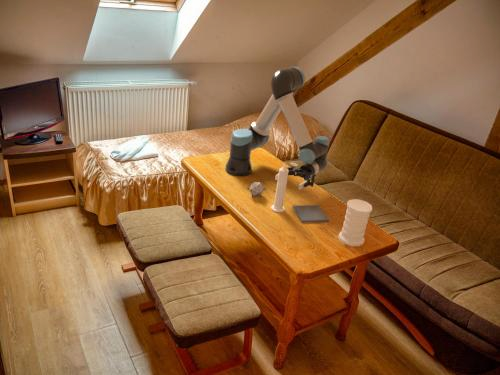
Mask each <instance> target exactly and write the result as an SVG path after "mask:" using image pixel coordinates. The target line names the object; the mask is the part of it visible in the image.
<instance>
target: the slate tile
mask: <svg viewBox="0 0 500 375" xmlns="http://www.w3.org/2000/svg"><path fill="white" fill-rule="evenodd" d="M292 210H293V211H294V213H295V215H296V216H297V218H298V219H299V221H300V222H301V223H302V224H307V223H309V224H310V223H328V222H330V219H329V217H328V216H327V214H326V213H325V212H324V210H323V209H322V207H321V206H320V204H311V205H310V204H309V205H307V204H305V205H301V204H300V205H292Z"/></svg>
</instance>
